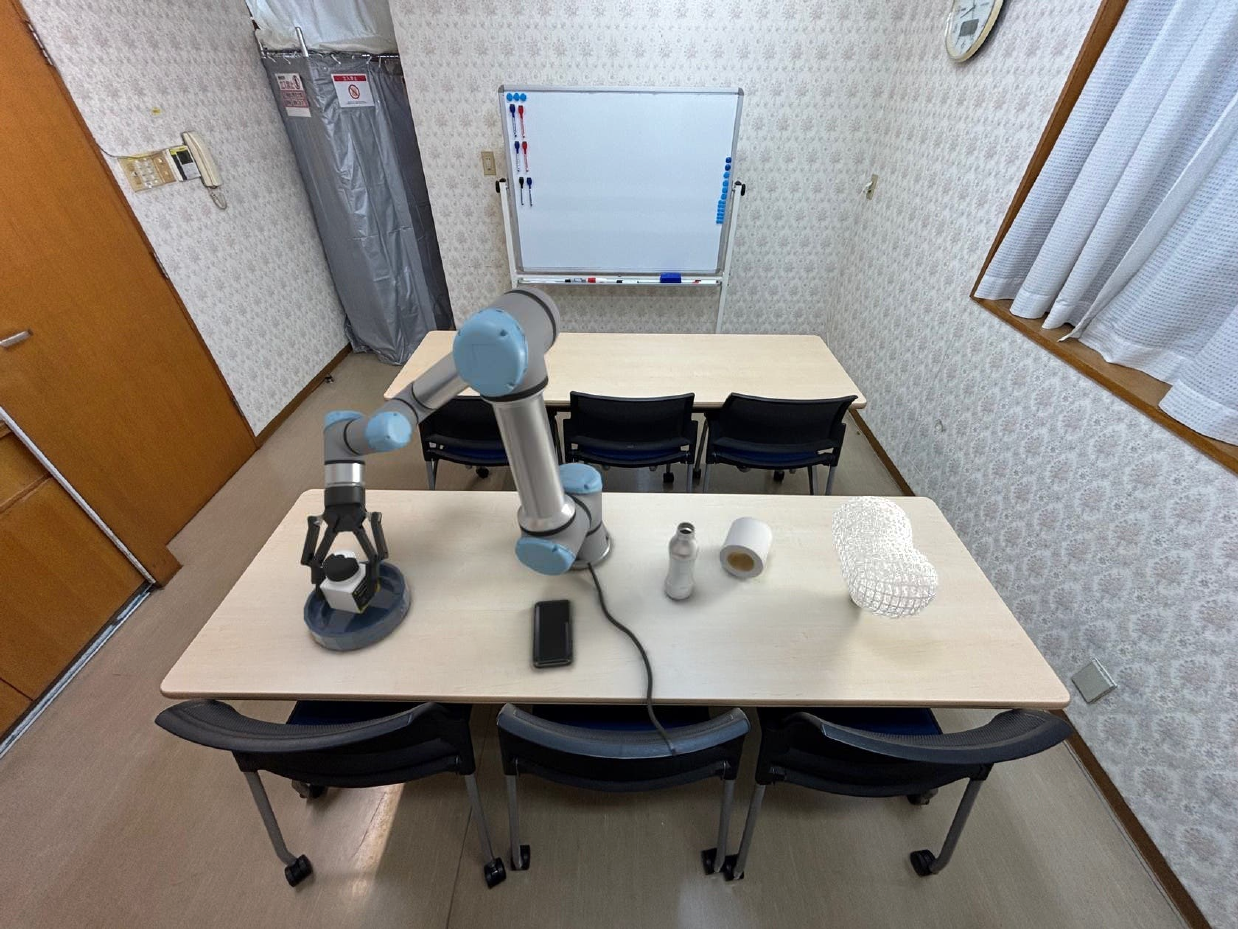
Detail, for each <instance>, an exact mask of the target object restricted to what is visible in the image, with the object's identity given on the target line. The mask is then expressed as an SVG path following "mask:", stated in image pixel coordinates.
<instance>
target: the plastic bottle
mask: <svg viewBox="0 0 1238 929" xmlns="http://www.w3.org/2000/svg"><path fill="white" fill-rule="evenodd" d="M695 533H696V527H695V525H694V524H693V523H691V522H689V521H682V522H680V523H679V524H678V525H677V527H676V531H675V534H674V535H673V536H672V537H671V538H670V540H669V542H668V545H667V546H668V547H667V550H668V570H667V573H666V576H665V579H664V589H665V592H666V595H668V596H669V597H670V598H672V599H674V600H684V599H687V598H689V596H690V595H691V594H692V592H693V590H694V587H695V584H694V583H695V582H694V566H695V562H696V560H697V557H698V554H699V550H700V545H699V542H698V540H697V538H696V537H695V535H696V534H695Z"/></svg>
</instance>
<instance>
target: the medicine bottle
mask: <svg viewBox="0 0 1238 929" xmlns="http://www.w3.org/2000/svg"><path fill="white" fill-rule="evenodd" d="M359 562H360V561H359V560H358V558H357V556H356V553H354V551H352V550H348V549H341V550H336V551H334V552H332V553H331V554H329V555H327V556H326V558H325V560H324V562H323V564H322V568H323V570H324V572H325V574H326V577H327V578H326V579H325V580H324V581H323V583H322V584H321V585H320V588H321V590H322V592H323V594H324V596H325V597H326V599H327V601H328V603H329V605H330V607H331V608H335V609H340V610H345V611H350V612H355V613H362V612H363V611H364V609H365V608H366V607H367V605H368V604H369V602H370V601H371V600H372V598H373V597H374V596H372V597H368V598H366V589H365V565H366V564H360V563H359ZM379 589H380V585H379V582H378V580H377V579H375V594H376V593H377V591H378V590H379Z"/></svg>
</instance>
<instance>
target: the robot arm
mask: <svg viewBox="0 0 1238 929" xmlns="http://www.w3.org/2000/svg"><path fill="white" fill-rule="evenodd" d="M561 323H562V322H561V315H560V311H559V309H558V307H557V305H556V303H555V301H554V300H553V299H552V298H551V296H549V295H548V294H547V293H545V292H544V291H543V290H541V289H539V288H537V287H531V286H517V287H514V288H510V289H509V290H507V291H505V292H504V293H503V294H502V295H500V296H499V297H497V298H496V299H495V300H494V301H492V302H491V303H490V304H488V305H486V306H485V307H484V308H482V309H480V310H478V311H475V312H474V313H473V314H472V315H470V316H469V317H468V318H467V319H466V321H465V322H464V323H463V324H462V325H461V326H460V327H459V328H458V330H457V332H456V334H455V336H454V339H453V341H452V350H450V352H448V353H447V354H446V355H445V356H443V357H442V358H441V359H439V360H438V361H437V362H436V363H434V364H433V365H432V366H430V367H429V368H428V369H427V370H425V372H423V373H422V374H420V375H419V376H418V377H417V378H416V379H414V380H412V381H411V382H409V383H408V384H407V385H406V386H405V387H404V388H402V389H401V390H400V391H399V392H398V393H396V394H395V395H394V396H393V397H391V398H390V399H388V400H387V401H386V402H385V403H383V404H382V405H381V406H380V407H378V408H377V409H376V410H374V411H373V412H372V413H370V414H369V415H367V416H364V414H362V413H361V412H359V411H354V410H334V411H329V412H328V413H326V415H325V416H324V424H323V425H324V426H323V431H322V435H323V463H324V464H323V465H324V466H323V467H324V468H323V485H324V486H326V487H325V488H324V489H323V506H324V509H323V512H322V514H319V515H308V517H307V518H306V520H307V532H306V535H305V540H304V544H303V549H302V552H301V556H300V557H301V558H300V561H299V562H300V565H301V566H305V567H309V568H310V583H311V585H315V587H316V592H315V602H318V601H323V600H326V597H325V596H324V594H323V592H322V590H321V588H320V585H321V584H322V583H323V581H324V580H325V579H326V577H327V576H326V574H325V572H324V570H323V568H322V565H323V562H324V560H325V559H326V558H327V557H328V554H329V551H330V549H331V547H332V545H333V544H334V541H335V539H336V538H337V536H339V534H340V533H351V532H352V534H353V535H354V536H355V537H356V540H357V541H358V543H359V546H360V547H361V549H362V551H363V552H364V554H365V556H366V558H367V561H369V562H368V563H369V564H366V565H365V589H366V598H368V597H372V596H375V579H378V578H379V563H380V562H381V561H382V562H383V561H385V560H387V559H389V558H390V554H389V551H388V546H387V542H386V538H385V533H384V530H383V525H382V518H383V513H382V512H381V511H368V510H367V507H366V504H367V503H366V502H367V501H366V498H367V496H366V488H365V487H364V485H365V484H366V456H369V455H373V454H379V453H380V454H381V453H390V452H394V451H396V450H399V449H402V448H404V447H406V446H407V445H408V444H409V442H410V441H411V436H412V434H413V430H414V429H415V428H416V427H417V426H418V425H419V424H420V423H422V422H423V421H424V420H425V419H427V417H428V416H430V415H431V414H433V413H434V412H435V411H437V410H439V409H440V408H441V407H442V406H444V405H445V404H447V403H448V402H449V401H451V400H453V399H454V398H455V397H457V396H458V395H460V394H461V393H463V392H464V391H466V390H467V389H469V388H470V389H471V390H473V391H474V392H475V393H477V394H478V395H479V397H480V398H481V399H482V400H483V401H484V402H487V403H488V404H491V405H492V409H493V412H494V415H495V420H496V422H497V426H498V429H499V433H500V436H501V440H502V443H503V447H504V450H505V453H506V456H507V460H508V463H509V467H510V471H511V474H512V477H513V480H514V485H515V486H516V491H517V494H518V497H519V498H518V499H519V502H520V506H519V508H518V510H517V513H516V519H517V523H518V526H519V529H520V537H519V538H518V539H517V540H516V544H515V546H514V553H515V556H516V557H517V559H518V560H519V562H520V563H522V564H523V566H525V567H527V568H529V569H530V570H532V571H534V572H536V573H538V574H541V575H547V576H560V575H563V574H564V573H566V572H568V571H569V570H585V569H588V570H589V573H590V575H591V577H592V580H593V581H594V584H595V586H596V590H597V593H598V598H599V603H600V606H601V610H602V612H603V614H604V615H605V616H606V618H607V619H608V620H609V621H610V622H611V623H612V624H614V626H616V628H619V629H620V630H621V631H623V632H624V633H625V634H627V636H629V637H630V638H631V640H632V641H633V643H634V644H635V646H636V647H637V649H638V650H639V652H640V654H641V657H642V659H643V663H644V665H645V669H646V674H647V690H646V708H647V712H648V715H649V719H650V720H651V723H652V724H653V726H654V727H655V728H656V729H657V731H658V732H659V733H660V732H662V733H660V735H661V736H662V737H663V738H664V740H665V739H667V740H672V738H671V736H670V735H669V734H668V732H667V731H666V730H665V729H664V727H663V726H662V725H661V724H660V723H659V721H658V719H657V718H656V716H655V714H654V711H653V705H652V691H653V673H652V668H651V663H650V660H649V658H648V655H647V653H646V651H645V649H644V647H643V645H642V644H641V642H640V641H639V639H638V638H637V636H636V635H635V634H634V633H633V632H632V631H631V630H630V629H629V628H627V627H626V626H625V625H623V624H622V623H620V622H619V621H618V620H616V619H615V618H614V617H613V616H612V615H611V614H610V612H609V610H608V608H607V606H606V604H605V600H604V596H603V590H602V588H601V584H600V582H599V580H598V577H597V575H596V572H595V570H594V566H597V565H598V564H600V563H601V562H603V561H604V560H605V559H606V557H607V556H608V555H609V552H610V548H611V539H610V535H609V532H608V530H607V527H606V526H605V523H604V522H603V490H602V489H603V485H604V484H603V483H602V476H601V473H600V472H599V471H598V470H597V469H596V468H595V467H593V466H590V465H588V464H585V463H578V462H570V463H569V462H568V463H565V464H560V465H559V462H558V458H557V453H556V448H555V445H554V439H553V436H552V430H551V426H550V422H549V417H548V412H547V408H546V403H545V399H544V398H545V397H544V394H543V393H544V392H545V390H546V389H547V388H548V386H549V384H550V380H549V375H548V369H547V364H546V359H545V355H546V354H547V353H548V352H549V351H550V350H551V348H552V347H553V346H554V345H555V343H556V342H557V341H558V337H559V336H560V332H561V327H562V325H561ZM366 519H367V521H368V522H369V523H370V529H371V532H372V536H373V541H374V544H375V547H374V545H373V543H372V542H371V540H370V538H369V536H368V534H367V531H366V528H365V526H364V524H363V523H364V522H365V520H366ZM323 523H325V524H326V525H327V526H326V529H325V530H324V533H323V537H322V539H321V541H320V543H319V545H318V541H319V536H320V531H321V526H322V525H323ZM317 545H318V547H317ZM670 738H671V739H670ZM670 753H671V755H672V756H673V757H676V756H677V755H678V754H677V753H678V752H677V748H676V747H675V748H674V749H672V750H670Z"/></svg>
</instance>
